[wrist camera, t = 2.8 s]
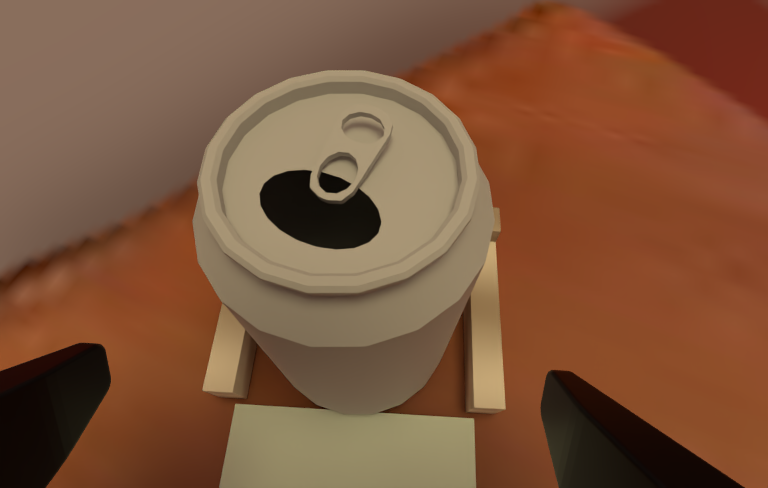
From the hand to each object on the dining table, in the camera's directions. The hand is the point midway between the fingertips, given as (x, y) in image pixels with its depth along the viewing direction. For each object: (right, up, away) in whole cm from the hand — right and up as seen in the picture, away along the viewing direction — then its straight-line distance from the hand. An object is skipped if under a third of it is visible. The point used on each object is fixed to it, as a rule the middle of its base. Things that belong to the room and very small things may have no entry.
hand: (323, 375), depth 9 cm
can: (0, -1, +11) cm, 11 cm away
